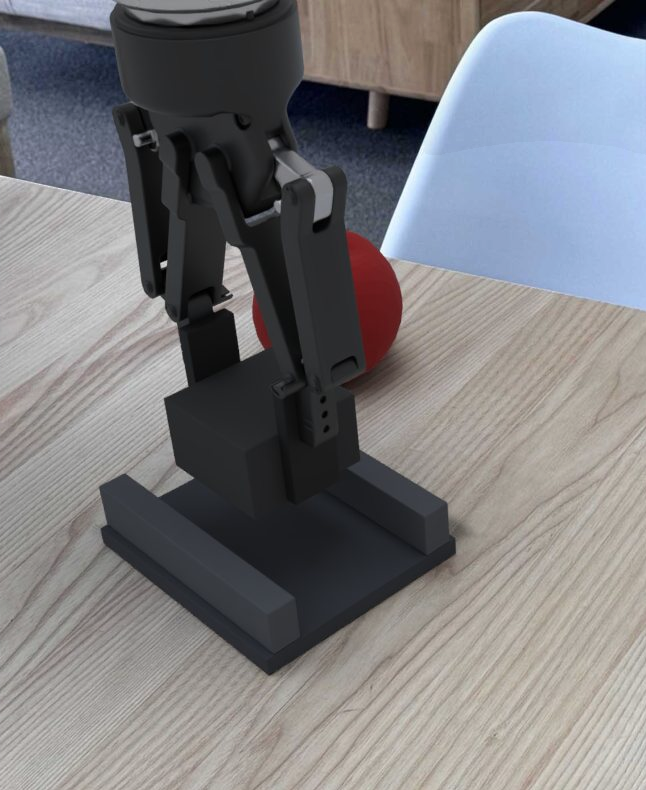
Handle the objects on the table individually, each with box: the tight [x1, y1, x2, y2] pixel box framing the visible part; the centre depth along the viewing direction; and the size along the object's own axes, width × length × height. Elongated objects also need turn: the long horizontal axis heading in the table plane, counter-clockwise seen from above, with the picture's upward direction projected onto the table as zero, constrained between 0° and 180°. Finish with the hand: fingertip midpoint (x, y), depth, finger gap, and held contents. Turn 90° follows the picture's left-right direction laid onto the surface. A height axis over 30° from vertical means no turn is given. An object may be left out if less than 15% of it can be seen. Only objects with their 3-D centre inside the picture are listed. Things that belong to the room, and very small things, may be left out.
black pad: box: [163, 347, 361, 520], centre depth 68 cm, size 6×6×4 cm
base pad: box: [98, 449, 457, 676], centre depth 71 cm, size 14×12×4 cm
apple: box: [251, 229, 404, 385], centre depth 84 cm, size 9×9×10 cm
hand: (267, 458), depth 69 cm, fingers closed on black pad, 6 cm apart
